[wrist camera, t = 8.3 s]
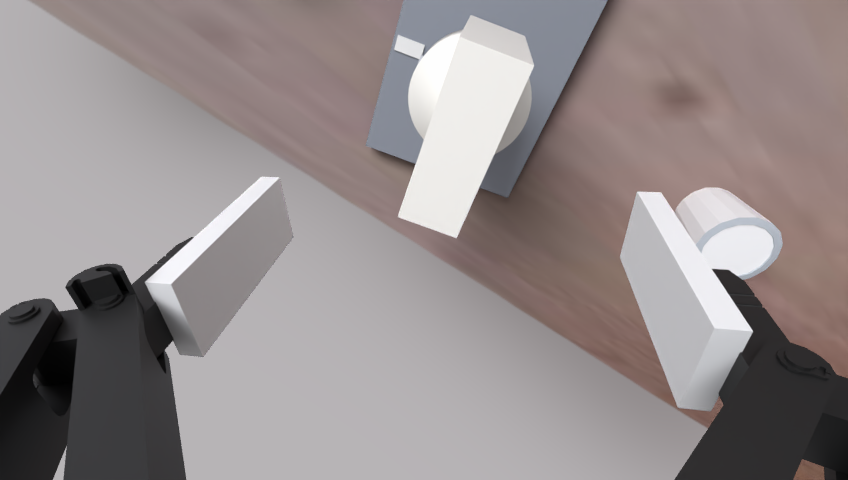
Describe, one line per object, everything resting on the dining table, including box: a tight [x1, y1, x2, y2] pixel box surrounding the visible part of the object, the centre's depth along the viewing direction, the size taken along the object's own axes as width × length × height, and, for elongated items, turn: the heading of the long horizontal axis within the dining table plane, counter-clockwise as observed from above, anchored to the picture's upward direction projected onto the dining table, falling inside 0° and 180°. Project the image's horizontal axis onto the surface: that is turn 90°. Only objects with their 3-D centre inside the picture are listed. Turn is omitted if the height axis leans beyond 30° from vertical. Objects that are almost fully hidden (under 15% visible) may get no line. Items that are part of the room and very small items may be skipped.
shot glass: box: [675, 188, 783, 280], centre depth 40 cm, size 7×7×7 cm
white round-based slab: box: [398, 15, 534, 238], centre depth 28 cm, size 12×8×12 cm
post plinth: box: [366, 0, 608, 198], centre depth 36 cm, size 15×20×8 cm
